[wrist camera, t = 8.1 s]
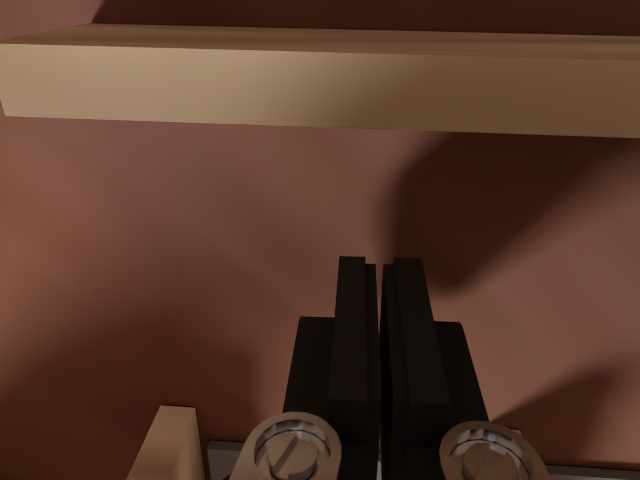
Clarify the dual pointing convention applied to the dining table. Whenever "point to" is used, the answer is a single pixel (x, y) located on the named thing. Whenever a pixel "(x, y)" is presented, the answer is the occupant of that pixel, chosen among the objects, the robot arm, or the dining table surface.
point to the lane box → (318, 102)
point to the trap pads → (228, 453)
